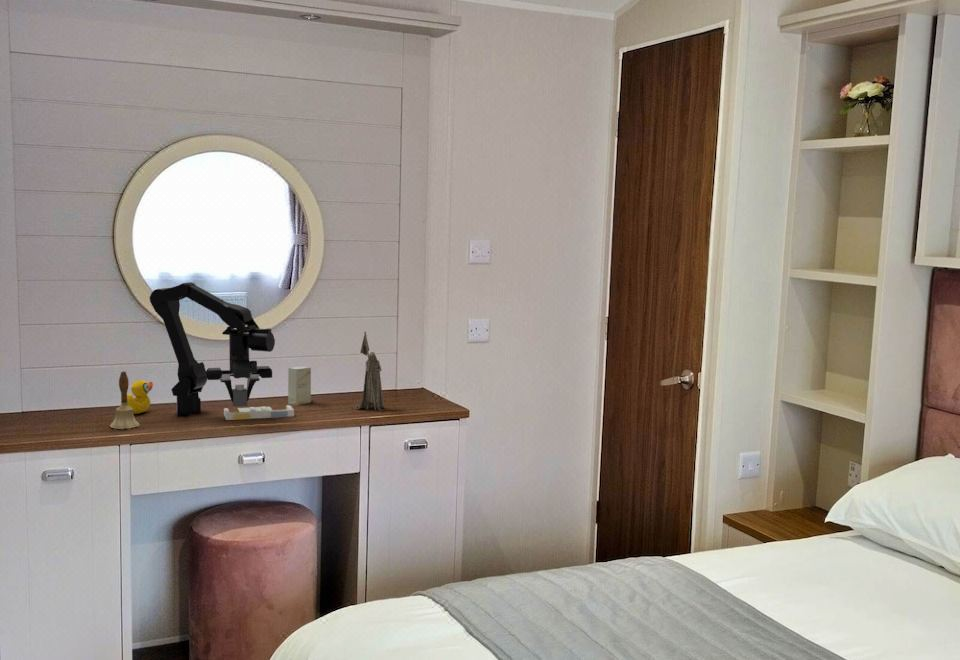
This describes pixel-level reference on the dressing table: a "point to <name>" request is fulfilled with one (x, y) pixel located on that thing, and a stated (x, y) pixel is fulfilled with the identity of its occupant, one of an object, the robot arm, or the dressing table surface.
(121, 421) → the hand bell
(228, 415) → the socket board
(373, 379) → the wizard figurine
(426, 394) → the dressing table surface
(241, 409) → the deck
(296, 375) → the skincare box
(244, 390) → the plug
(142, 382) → the duckling
